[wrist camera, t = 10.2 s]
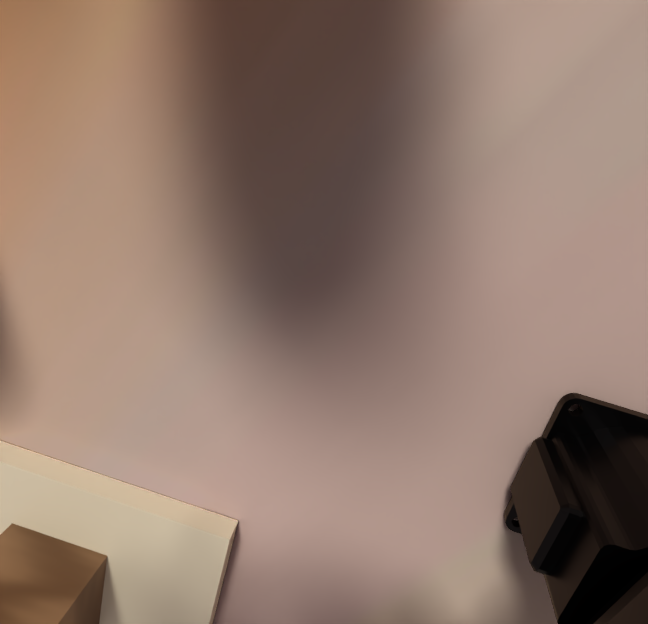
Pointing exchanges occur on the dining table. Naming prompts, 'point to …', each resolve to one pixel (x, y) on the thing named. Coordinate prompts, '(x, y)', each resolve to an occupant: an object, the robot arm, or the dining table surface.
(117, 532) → the plate
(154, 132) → the dining table surface
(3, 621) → the walnut block
